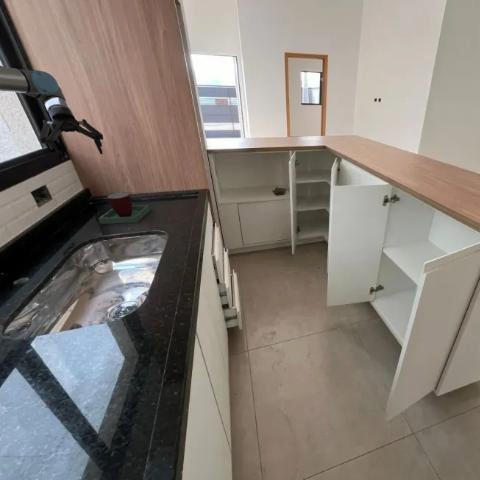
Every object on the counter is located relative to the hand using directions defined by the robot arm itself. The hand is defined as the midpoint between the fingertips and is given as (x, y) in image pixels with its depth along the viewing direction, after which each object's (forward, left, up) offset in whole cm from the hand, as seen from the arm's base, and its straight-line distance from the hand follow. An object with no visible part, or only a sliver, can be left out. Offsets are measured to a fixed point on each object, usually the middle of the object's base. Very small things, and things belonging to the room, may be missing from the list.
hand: (81, 154), depth 110 cm
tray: (+11, -3, -27) cm, 30 cm away
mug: (+11, -3, -27) cm, 29 cm away
